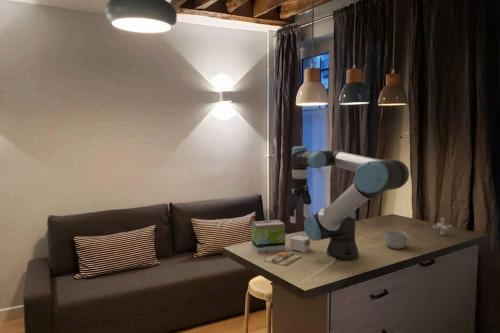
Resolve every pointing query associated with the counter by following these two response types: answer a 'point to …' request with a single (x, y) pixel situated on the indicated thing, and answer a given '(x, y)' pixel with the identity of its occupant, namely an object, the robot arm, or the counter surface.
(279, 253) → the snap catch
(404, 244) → the teacup
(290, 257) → the rail board
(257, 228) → the tea box
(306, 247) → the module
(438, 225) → the pipe connector
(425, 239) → the counter surface
